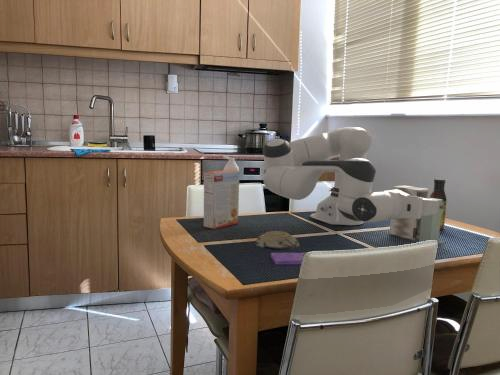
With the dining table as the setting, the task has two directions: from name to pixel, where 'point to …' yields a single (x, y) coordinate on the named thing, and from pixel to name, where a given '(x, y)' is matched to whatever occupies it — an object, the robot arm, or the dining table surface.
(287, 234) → the grey lumpy flat piece
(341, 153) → the robot arm
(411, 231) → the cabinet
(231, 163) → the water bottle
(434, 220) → the pale green block
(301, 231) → the dining table surface
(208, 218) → the cracker box
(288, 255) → the sponges
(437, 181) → the sauce bottle
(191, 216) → the dining table surface
